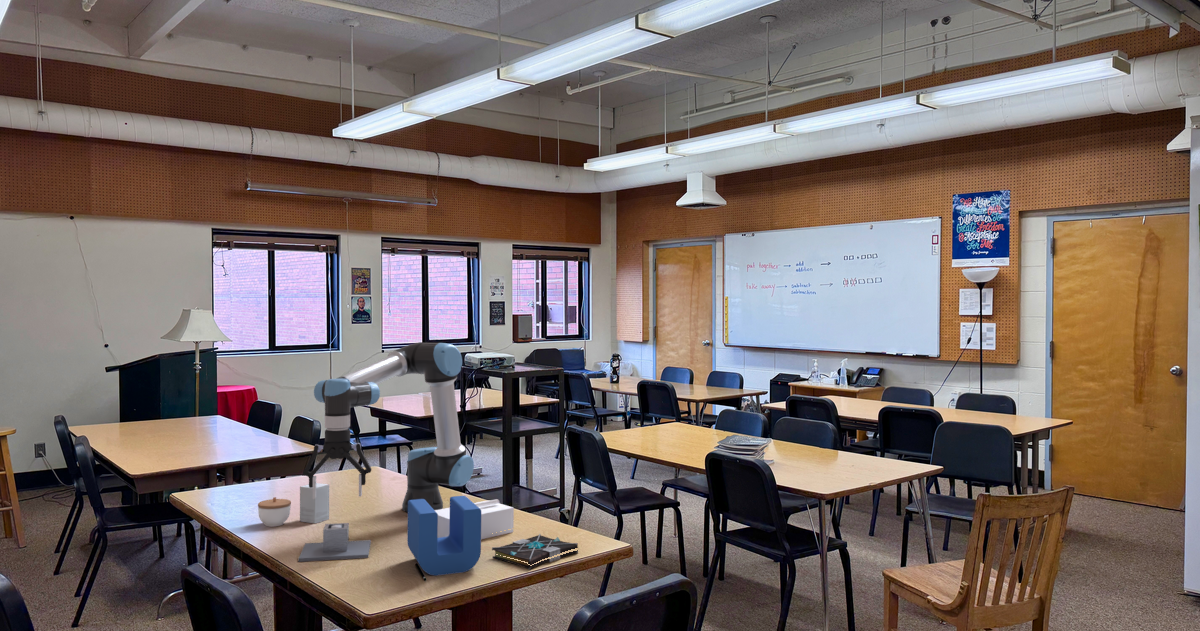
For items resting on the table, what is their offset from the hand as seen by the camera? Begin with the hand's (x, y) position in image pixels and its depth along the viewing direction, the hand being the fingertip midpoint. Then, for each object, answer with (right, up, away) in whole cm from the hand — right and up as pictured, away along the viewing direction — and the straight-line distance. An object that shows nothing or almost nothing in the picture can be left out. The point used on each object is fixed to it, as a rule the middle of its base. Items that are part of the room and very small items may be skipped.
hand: (337, 496), depth 246 cm
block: (+35, -18, -11) cm, 41 cm away
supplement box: (-21, -17, +37) cm, 46 cm away
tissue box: (+38, -18, +22) cm, 47 cm away
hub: (0, -16, 0) cm, 16 cm away
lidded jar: (-33, -17, +31) cm, 48 cm away
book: (+62, -19, -1) cm, 65 cm away
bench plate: (0, -17, 0) cm, 17 cm away
